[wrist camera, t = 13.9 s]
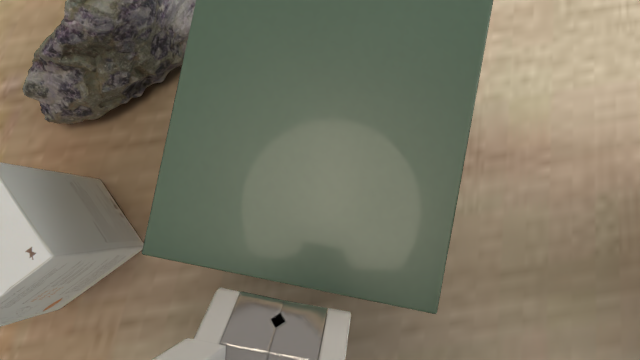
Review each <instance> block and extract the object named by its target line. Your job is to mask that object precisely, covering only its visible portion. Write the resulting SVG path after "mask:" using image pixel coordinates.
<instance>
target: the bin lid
mask: <svg viewBox="0 0 640 360" xmlns="http://www.w3.org/2000/svg"><path fill="white" fill-rule="evenodd" d="M492 5H493V0H196V3H195V7H194V12H193V17H192V21H191V26H190V31H189V35H188V40H187V45H186V49H185V54H184V59H183V63H182V68H181V73H180V77H179V82H178V87H177V91H176V96H175V101H174V105H173V110H172V115H171V119H170V124H169V129H168V133H167V138H166V143H165V147H164V152H163V157H162V161H161V166H160V171H159V175H158V180H157V185H156V189H155V194H154V199H153V203H152V208H151V213H150V217H149V222H148V227H147V231H146V236H145V241H144V245H143V250H142V254H143V255H148V256H153V257H158V258H163V259H168V260H173V261H177V262H182V263H187V264H192V265H197V266H202V267H207V268H212V269H217V270H222V271H227V272H231V273H236V274H241V275H246V276H251V277H256V278H261V279H266V280H271V281H276V282H280V283H285V284H290V285H295V286H300V287H305V288H310V289H315V290H320V291H325V292H329V293H334V294H339V295H344V296H349V297H354V298H359V299H364V300H369V301H374V302H379V303H383V304H388V305H393V306H398V307H403V308H408V309H413V310H418V311H423V312H428V313H432V314H436V313H437V310H438V304H439V298H440V293H441V287H442V282H443V276H444V271H445V265H446V260H447V254H448V249H449V243H450V238H451V232H452V226H453V221H454V215H455V210H456V204H457V199H458V193H459V188H460V182H461V177H462V171H463V165H464V160H465V154H466V149H467V143H468V138H469V132H470V127H471V121H472V116H473V110H474V104H475V99H476V93H477V88H478V82H479V77H480V71H481V66H482V60H483V55H484V49H485V43H486V38H487V32H488V27H489V21H490V16H491V10H492Z"/></svg>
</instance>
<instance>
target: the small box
mask: <svg viewBox="0 0 640 360" xmlns="http://www.w3.org/2000/svg"><path fill="white" fill-rule="evenodd" d="M143 245H144V243H143V242H142V240H141V239H140V237H139V236H138V235H137V233H136V232H135V230H134V229H133V227H132V226H131V224H130V223H129V221H128V220H127V218H126V217H125V215H124V214H123V213H122V211H121V210H120V208H119V207H118V205H117V204H116V202H115V201H114V199H113V198H112V196H111V195H110V193H109V192H108V190H107V189H106V187H105V186H104V184H103V183H102V181H101V180H100V179H97V178H91V177H84V176H79V175H73V174H68V173H61V172H55V171H49V170H43V169H37V168H31V167H25V166H19V165H13V164H7V163H0V327H1V326H4V325H8V324H11V323H14V322H17V321H21V320H24V319H28V318H31V317H34V316H38V315H42V314H45V313H49V312H52V311H56V310H59V309H61V308H62V307H64V306H65V305H66V304H68V303H69V302H71V301H72V300H74V299H75V298H76V297H78V296H79V295H81V294H82V293H83V292H85V291H86V290H88V289H89V288H90V287H92V286H93V285H95V284H96V283H97V282H99V281H100V280H101V279H103V278H104V277H106V276H107V275H108V274H110V273H111V272H112V271H114V270H115V269H117V268H118V267H119V266H121V265H122V264H123V263H125V262H126V261H128V260H129V259H130V258H132V257H133V256H134V255H136V254H137V253H138V252H140V251H141V250H142V249H143Z"/></svg>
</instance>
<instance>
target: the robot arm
mask: <svg viewBox="0 0 640 360" xmlns="http://www.w3.org/2000/svg"><path fill="white" fill-rule="evenodd" d="M327 310H328V312H327ZM326 317H327V318H326ZM350 320H351V313H350V312H349V311H343V310H337V309H331V308H329V309H328V308H324V307H318V306H313V305H307V304H302V303H296V302H291V301H284V300H280V299H275V298H270V297H265V296H261V295H256V294H251V293H247V292H239V291H235V290H230V289H226V288H221V287H220V288H219V289H218V290H217V291H216V292H215V294H214V296H213V298H212V300H211V303H210V305H209V307H208V309H207V311H206V313H205V315H204V318H203V320H202V322H201V324H200V326H199V328H198V330H197V333H196V335H195V337H194V339H190V338H186V339H184V340H183V341H181V342H179V343H178V344H176V345H175V346H173V347H171V348H170V349H168V350H166V351H165V352H163V353H161V354H160V355H158V356H157V357H155V358H153V359H152V360H345V358H346V350H347V343H348V335H349V328H350Z"/></svg>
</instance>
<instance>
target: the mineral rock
mask: <svg viewBox="0 0 640 360" xmlns="http://www.w3.org/2000/svg"><path fill="white" fill-rule="evenodd" d="M195 3H196V0H67V1H66V2H65V16H64V19H63V20H62V21H61V24H60V25H59V26H58V27H57V28H56V29H55V30H54V32H53V33H52V34H51V35H50V36H49V37H47V38H46V39H45V41H44V42H43V43H42V44H41V46H40V48H39V49H38V50H36V52H35V53H34V59H33V61H32V62H33V65H32V67H31V68H30V69H29V70H28V76H27V78H26V80H25V83H24V86H23V92H24V95H26V96H28V97H30V98H33V99H36V100H38V101H39V102H40V106H41V112H42V113H43V114H44V115H45V120H47V121H49V122H53V123H59V124H60V123H66V124H73V123H77V122H82V121H83V120H84V119H89V120H93V119H98V118H100V117H102V116H103V115H105V114H106V113H107V112H108V111H110V110H111V109H114V108H116V107H117V106H119V105H120V104H122V103H127V102H128V101H129V100H130V99H131V98H132V97H134V98H136V97H139V96H141V95H142V93H143V91H144V90H145V89H146V88H147V87H148V86H150V85H152V84H153V83H161V82H162V81H163V80H164V79H165V77H166V75H167V74H168V73H169V72H170V71H171V70H173V69H175V68H177V67H179V66H180V65H182V63H183V59H184V54H185V49H186V45H187V40H188V35H189V31H190V26H191V21H192V17H193V12H194V7H195Z"/></svg>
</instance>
